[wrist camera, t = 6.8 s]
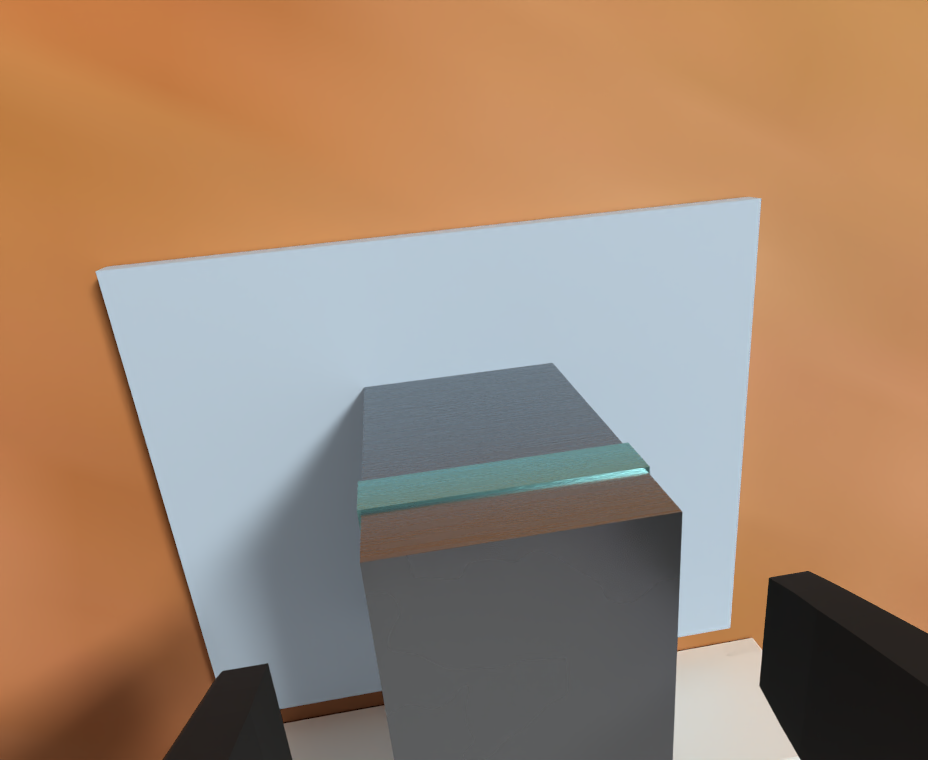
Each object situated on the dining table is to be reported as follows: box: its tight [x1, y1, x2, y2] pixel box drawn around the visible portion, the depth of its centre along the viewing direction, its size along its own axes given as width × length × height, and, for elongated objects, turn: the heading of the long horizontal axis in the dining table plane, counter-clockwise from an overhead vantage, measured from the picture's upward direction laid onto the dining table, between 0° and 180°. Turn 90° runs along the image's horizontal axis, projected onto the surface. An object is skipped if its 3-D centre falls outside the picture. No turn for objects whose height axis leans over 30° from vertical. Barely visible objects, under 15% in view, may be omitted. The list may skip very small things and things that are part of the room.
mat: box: [96, 197, 761, 709], centre depth 14 cm, size 13×11×1 cm
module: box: [357, 363, 683, 760], centre depth 11 cm, size 4×6×6 cm
